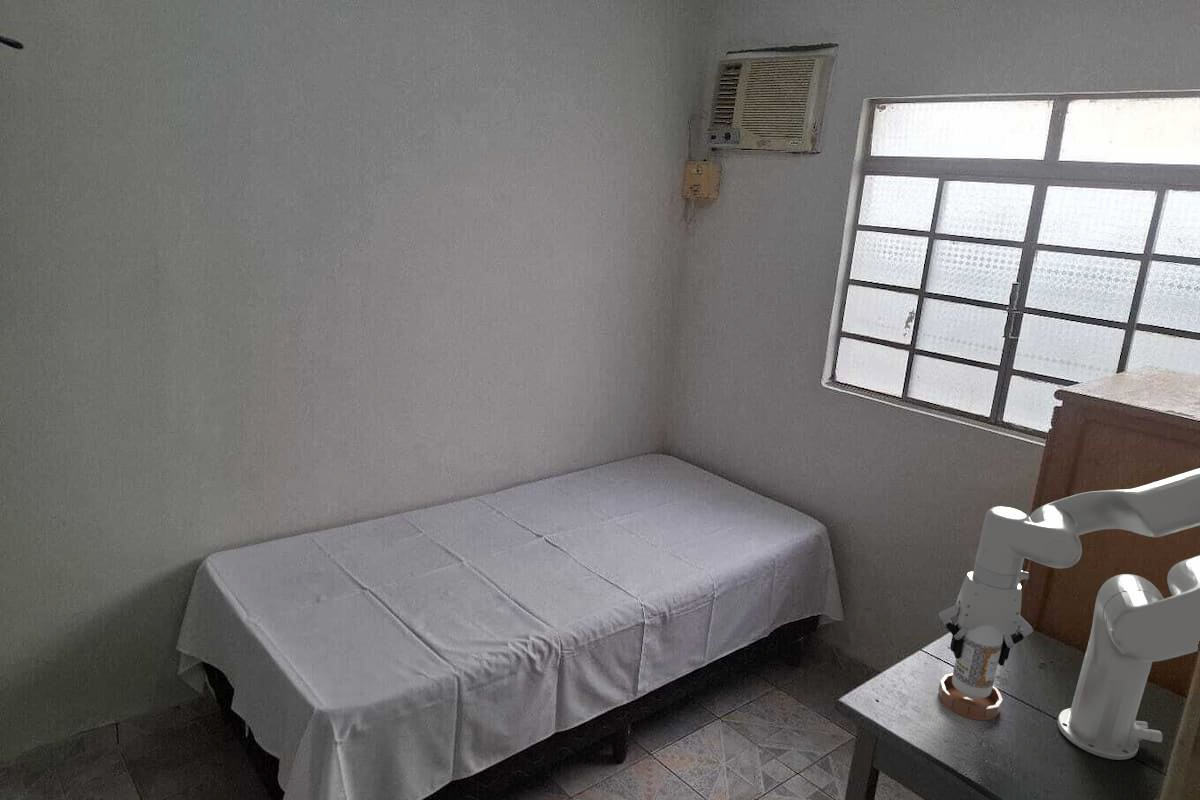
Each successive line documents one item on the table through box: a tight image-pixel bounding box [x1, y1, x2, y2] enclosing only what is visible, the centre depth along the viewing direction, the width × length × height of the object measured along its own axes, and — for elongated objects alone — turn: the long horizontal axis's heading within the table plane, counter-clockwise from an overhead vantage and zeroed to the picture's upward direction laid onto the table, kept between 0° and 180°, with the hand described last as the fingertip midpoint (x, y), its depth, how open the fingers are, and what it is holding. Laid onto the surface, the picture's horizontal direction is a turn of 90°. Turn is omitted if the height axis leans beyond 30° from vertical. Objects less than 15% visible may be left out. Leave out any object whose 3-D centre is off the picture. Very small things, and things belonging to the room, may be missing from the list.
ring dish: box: [938, 672, 1004, 722], centre depth 152 cm, size 11×11×3 cm
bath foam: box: [952, 625, 1003, 698], centre depth 148 cm, size 7×7×20 cm
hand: (977, 657), depth 149 cm, fingers closed on bath foam, 7 cm apart
